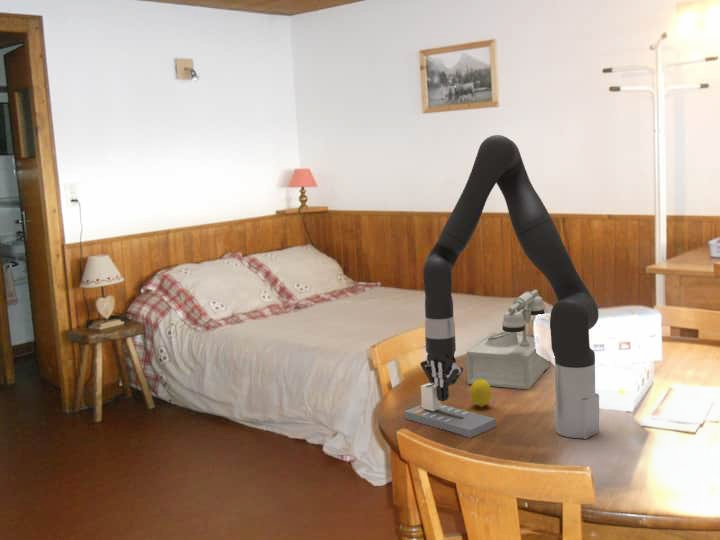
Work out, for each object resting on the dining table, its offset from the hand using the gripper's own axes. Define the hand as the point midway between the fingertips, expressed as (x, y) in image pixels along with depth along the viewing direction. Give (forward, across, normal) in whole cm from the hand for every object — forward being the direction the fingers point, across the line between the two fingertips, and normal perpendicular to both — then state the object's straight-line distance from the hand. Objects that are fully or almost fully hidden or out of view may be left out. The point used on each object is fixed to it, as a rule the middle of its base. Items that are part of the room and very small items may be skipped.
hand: (442, 400), depth 209 cm
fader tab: (+3, +4, 0) cm, 5 cm away
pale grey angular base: (+6, +10, -44) cm, 45 cm away
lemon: (+6, -1, -14) cm, 15 cm away
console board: (+6, -2, 0) cm, 6 cm away
